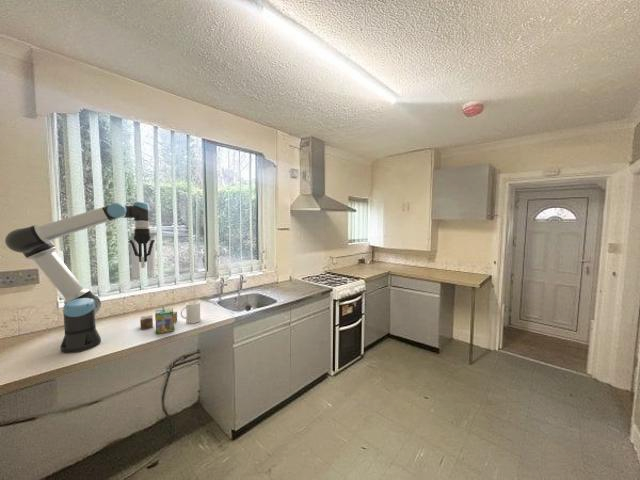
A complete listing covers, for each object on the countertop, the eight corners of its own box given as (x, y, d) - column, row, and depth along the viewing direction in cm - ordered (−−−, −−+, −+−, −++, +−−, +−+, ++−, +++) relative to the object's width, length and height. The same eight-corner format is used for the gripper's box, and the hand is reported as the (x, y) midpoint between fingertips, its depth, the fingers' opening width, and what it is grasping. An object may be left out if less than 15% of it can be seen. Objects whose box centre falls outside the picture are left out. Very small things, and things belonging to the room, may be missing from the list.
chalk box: (174, 331, 152) (173, 306, 151) (155, 334, 148) (154, 308, 147) (173, 325, 160) (173, 302, 159) (156, 328, 155) (155, 304, 155)
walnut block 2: (162, 324, 162) (162, 314, 162) (167, 321, 168) (167, 311, 168) (173, 324, 163) (172, 314, 162) (177, 320, 169) (176, 311, 168)
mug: (182, 326, 160) (182, 306, 159) (178, 322, 166) (178, 303, 165) (202, 321, 168) (202, 302, 167) (198, 317, 174) (197, 300, 173)
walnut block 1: (140, 329, 154) (140, 319, 153) (141, 326, 159) (140, 316, 159) (152, 327, 157) (152, 317, 157) (152, 324, 162) (152, 314, 162)
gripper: (126, 228, 149) (128, 269, 150) (153, 228, 154) (154, 267, 155) (130, 228, 156) (132, 267, 157) (156, 228, 161) (157, 265, 162)
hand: (143, 267), depth 156 cm, fingers closed
